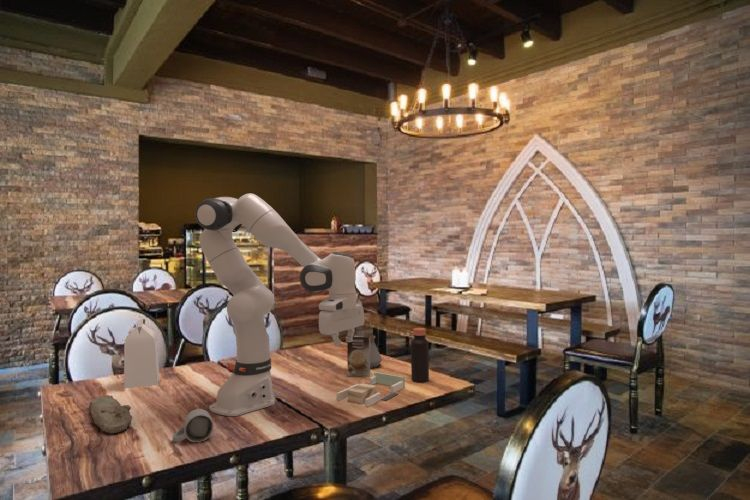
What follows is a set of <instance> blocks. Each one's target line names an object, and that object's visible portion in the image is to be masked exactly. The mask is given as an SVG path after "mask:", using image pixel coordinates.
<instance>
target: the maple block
mask: <svg viewBox="0 0 750 500" xmlns="http://www.w3.org/2000/svg"><path fill="white" fill-rule="evenodd" d="M369 384H370V383H367V384H365V383H363V382H362V383H359V385H357V386H355V387H353V388H351V389H349V390H347V394H348V397H347V402H351V403H356V404H360V405H363V404H365V399H366V398H368V397H370V396H372V395H374V394H376V393H378V391H377V385H375V384H374V385H369Z"/></svg>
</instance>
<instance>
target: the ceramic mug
mask: <svg viewBox="0 0 750 500" xmlns="http://www.w3.org/2000/svg"><path fill="white" fill-rule="evenodd" d="M214 428H215V427H214V421H213V419H212V416H211V415H210V412H208V411H207V410H205V409H203V408H196V409H193V410H191V411H190V412H189V413H188V414H187V416H185V419H184V426H183V427H181V428H179V429H178V430H177V431H176V432H174V434H173V435H172V440H173V442H174V443H180V442H182V441H184V440H185V439H187V440H188V441H189V442H191V443H195V442H198V443H202V442H201V441H203V442H205V441H206V440H208V439H209V438H210V436H211V435H212V434H213V431H214Z"/></svg>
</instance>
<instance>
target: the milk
mask: <svg viewBox="0 0 750 500" xmlns="http://www.w3.org/2000/svg"><path fill="white" fill-rule="evenodd" d="M127 334H128V335H127V336H126V337H125V339H124V351H123V353H124V360H123V361H124V363H123V365H124V366H123V368H124V369H123V371H124V372H123V374H124V376H123V390H124V389H126V388H134V387H141V386H152V385H158V386H159V384H158V381H159V382H160V367H159V355H158V353H159V352H158V341H157V333H156V332H155V331H154V330H152V329H151V328H150V327H148V326H147V325H146V324H145V323H144V316H143V317H142V316H141V317H138V319H137V326H135V327H134V326H133V327H131V329H130V330H129V331H128V332H127Z"/></svg>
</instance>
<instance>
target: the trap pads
mask: <svg viewBox="0 0 750 500" xmlns="http://www.w3.org/2000/svg"><path fill="white" fill-rule="evenodd" d="M364 384H369V385H370V383H367V382H365V383H364ZM398 395H399V393H397V392H395V393H389V394H388V395H386V396H385V397H383V398H382V397H381V400H380V401H383V402H387V401H389V400H391V399H392V398H394V397H396V396H398Z"/></svg>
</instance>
